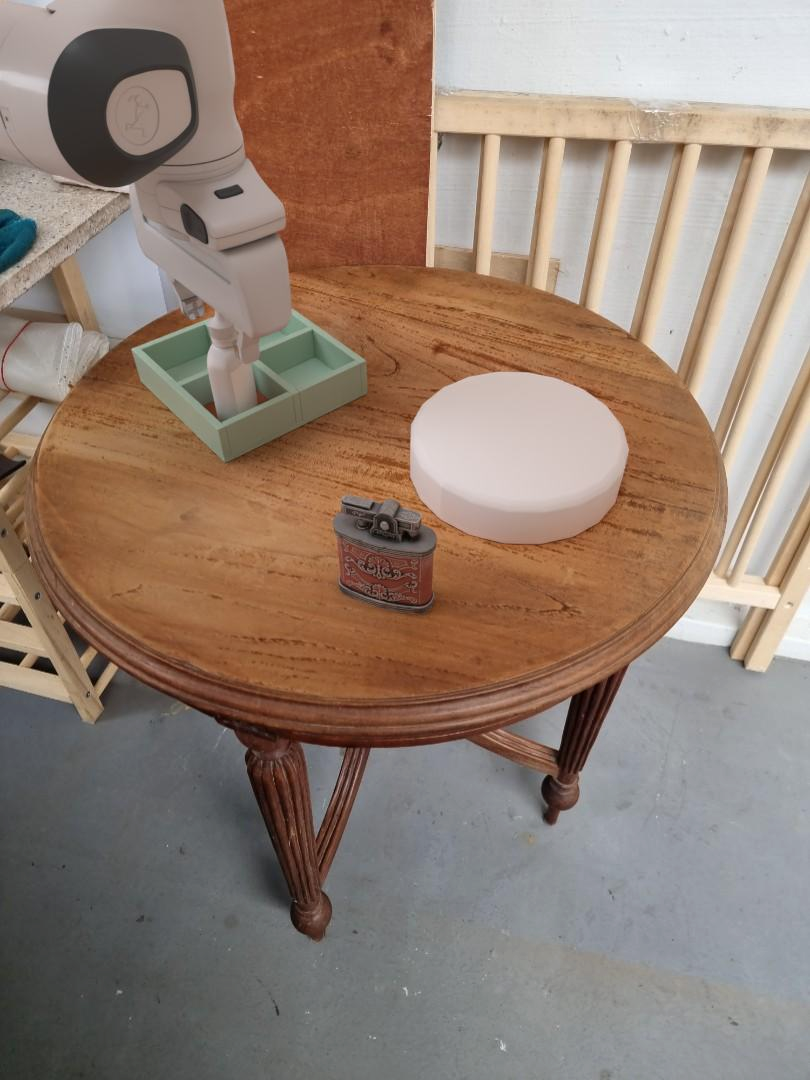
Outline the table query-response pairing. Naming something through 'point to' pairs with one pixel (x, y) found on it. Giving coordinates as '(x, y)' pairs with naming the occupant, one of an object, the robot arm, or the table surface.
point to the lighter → (385, 555)
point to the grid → (280, 379)
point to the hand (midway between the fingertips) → (220, 336)
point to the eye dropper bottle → (228, 372)
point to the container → (517, 457)
